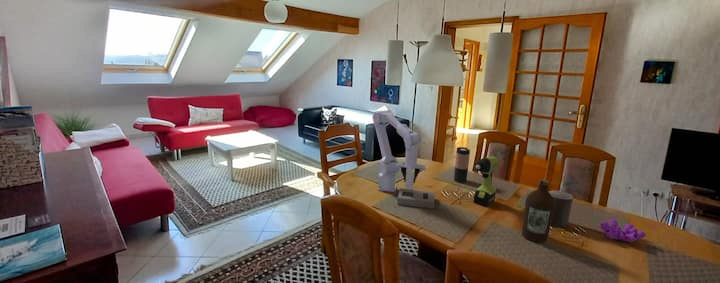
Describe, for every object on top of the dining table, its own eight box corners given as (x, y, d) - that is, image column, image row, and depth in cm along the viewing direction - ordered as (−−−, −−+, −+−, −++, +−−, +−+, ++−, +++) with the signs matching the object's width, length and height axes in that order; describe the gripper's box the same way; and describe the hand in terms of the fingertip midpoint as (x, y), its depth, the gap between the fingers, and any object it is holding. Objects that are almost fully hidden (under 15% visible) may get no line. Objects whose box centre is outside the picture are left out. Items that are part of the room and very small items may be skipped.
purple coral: (596, 238, 139) (599, 217, 141) (641, 250, 131) (643, 227, 133) (600, 233, 130) (603, 211, 133) (648, 245, 122) (651, 221, 124)
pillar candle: (555, 229, 139) (561, 197, 135) (537, 218, 148) (543, 188, 144) (572, 226, 142) (579, 195, 138) (554, 216, 151) (560, 186, 147)
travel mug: (452, 181, 191) (455, 149, 185) (454, 177, 197) (458, 146, 192) (465, 184, 187) (469, 151, 182) (467, 179, 194) (471, 148, 188)
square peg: (405, 189, 162) (405, 174, 160) (405, 186, 166) (406, 171, 164) (413, 189, 161) (414, 175, 159) (413, 186, 165) (414, 172, 163)
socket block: (397, 204, 160) (397, 197, 159) (399, 194, 171) (400, 188, 170) (433, 208, 156) (434, 202, 155) (434, 198, 167) (434, 192, 166)
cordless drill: (477, 214, 151) (484, 164, 144) (463, 209, 155) (469, 161, 149) (496, 199, 167) (502, 154, 161) (483, 195, 172) (488, 151, 165)
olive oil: (520, 227, 140) (529, 174, 133) (548, 234, 135) (559, 179, 128) (519, 239, 131) (528, 182, 124) (549, 246, 126) (560, 188, 119)
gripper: (395, 157, 156) (394, 183, 160) (425, 160, 153) (423, 186, 157) (397, 153, 163) (396, 178, 167) (426, 156, 160) (424, 181, 164)
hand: (409, 182), depth 162 cm, fingers closed on square peg, 4 cm apart
